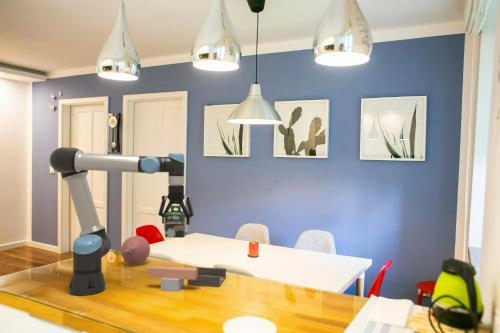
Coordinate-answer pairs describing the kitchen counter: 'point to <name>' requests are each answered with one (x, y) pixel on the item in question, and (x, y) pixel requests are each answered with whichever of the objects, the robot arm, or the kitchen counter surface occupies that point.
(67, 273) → the kitchen counter surface
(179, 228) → the chalk box
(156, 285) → the kitchen counter surface
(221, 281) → the cradle
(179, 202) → the robot arm
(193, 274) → the bar
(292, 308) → the kitchen counter surface
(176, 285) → the white and tan block
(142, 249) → the balloon
